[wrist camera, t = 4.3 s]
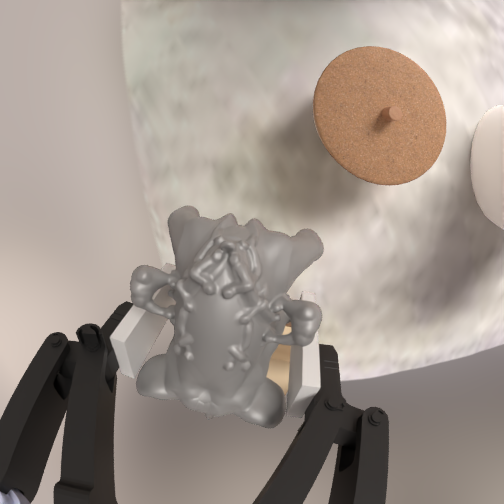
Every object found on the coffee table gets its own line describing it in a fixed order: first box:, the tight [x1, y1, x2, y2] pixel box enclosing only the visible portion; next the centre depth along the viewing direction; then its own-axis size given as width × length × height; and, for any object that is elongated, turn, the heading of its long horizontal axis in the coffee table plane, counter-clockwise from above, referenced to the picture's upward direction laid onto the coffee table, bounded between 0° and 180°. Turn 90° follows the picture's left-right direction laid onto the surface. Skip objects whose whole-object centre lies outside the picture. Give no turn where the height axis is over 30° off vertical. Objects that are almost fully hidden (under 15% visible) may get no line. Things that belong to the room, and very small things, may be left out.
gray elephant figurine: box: [130, 206, 324, 428], centre depth 13 cm, size 9×12×8 cm
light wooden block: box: [267, 326, 291, 395], centre depth 29 cm, size 12×7×5 cm, turn 170°
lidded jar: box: [313, 46, 446, 185], centre depth 18 cm, size 11×11×9 cm
